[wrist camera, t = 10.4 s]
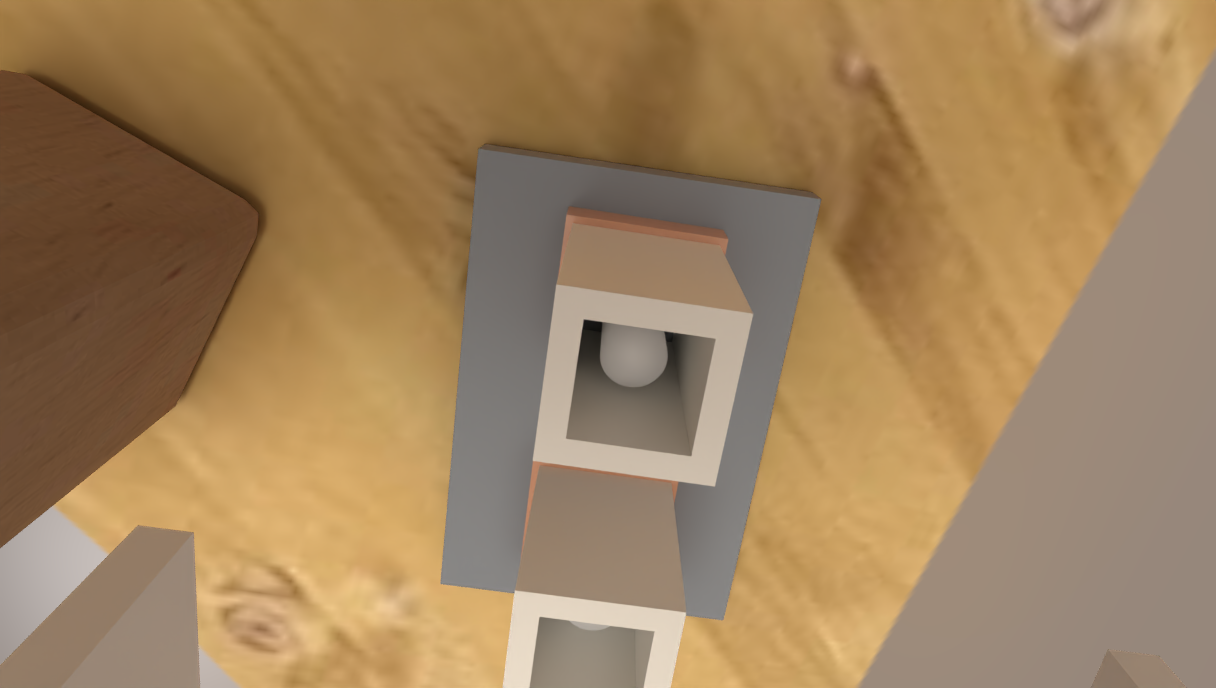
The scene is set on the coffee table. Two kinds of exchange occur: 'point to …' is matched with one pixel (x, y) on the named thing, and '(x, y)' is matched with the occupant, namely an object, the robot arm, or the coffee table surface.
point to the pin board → (525, 337)
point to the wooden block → (97, 289)
